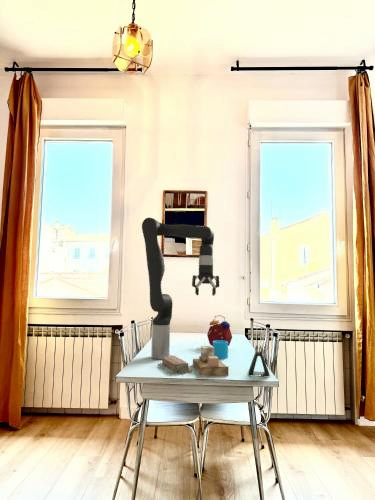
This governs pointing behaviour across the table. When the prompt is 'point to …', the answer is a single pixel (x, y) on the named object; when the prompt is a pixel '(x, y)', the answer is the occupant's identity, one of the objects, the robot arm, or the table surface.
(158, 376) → the table surface
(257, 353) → the dark a-shaped stand
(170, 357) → the packaged product
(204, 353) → the tan block
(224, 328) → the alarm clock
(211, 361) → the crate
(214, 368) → the dock
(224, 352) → the mug
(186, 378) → the table surface
